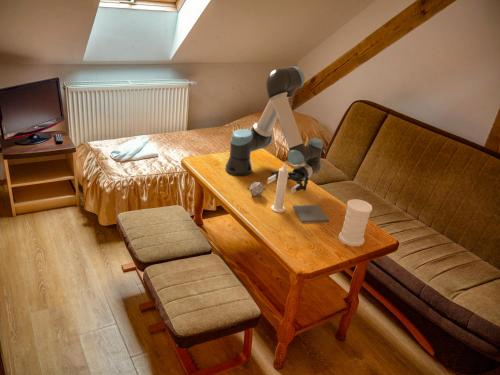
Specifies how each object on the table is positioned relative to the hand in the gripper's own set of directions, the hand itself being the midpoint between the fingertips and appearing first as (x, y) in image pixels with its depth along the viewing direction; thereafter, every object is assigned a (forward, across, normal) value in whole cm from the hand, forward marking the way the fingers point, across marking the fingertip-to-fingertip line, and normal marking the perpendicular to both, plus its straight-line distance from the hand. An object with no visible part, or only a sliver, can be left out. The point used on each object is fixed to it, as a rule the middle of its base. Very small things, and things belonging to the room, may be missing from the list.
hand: (279, 186), depth 209 cm
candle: (-2, 0, -14) cm, 14 cm away
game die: (-5, +16, -14) cm, 22 cm away
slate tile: (-10, -14, -14) cm, 22 cm away
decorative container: (-5, -39, -14) cm, 41 cm away
